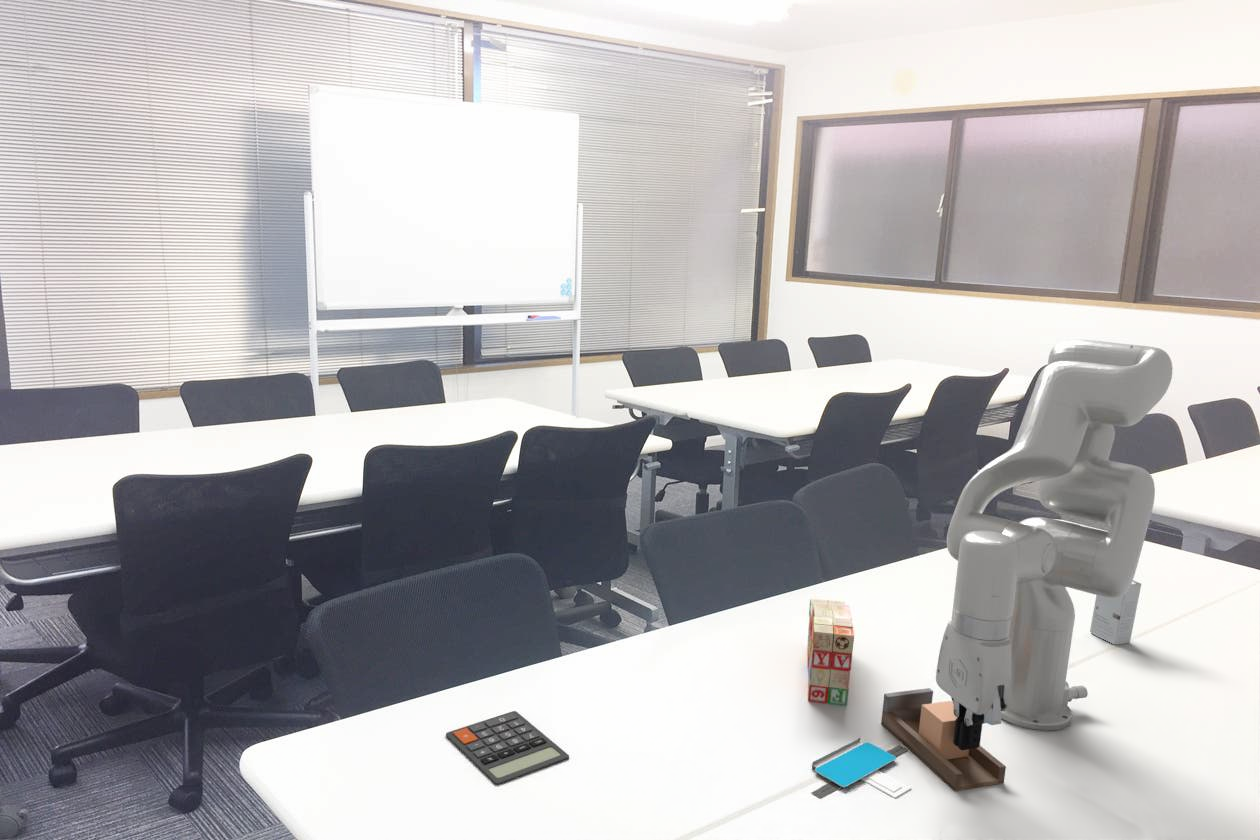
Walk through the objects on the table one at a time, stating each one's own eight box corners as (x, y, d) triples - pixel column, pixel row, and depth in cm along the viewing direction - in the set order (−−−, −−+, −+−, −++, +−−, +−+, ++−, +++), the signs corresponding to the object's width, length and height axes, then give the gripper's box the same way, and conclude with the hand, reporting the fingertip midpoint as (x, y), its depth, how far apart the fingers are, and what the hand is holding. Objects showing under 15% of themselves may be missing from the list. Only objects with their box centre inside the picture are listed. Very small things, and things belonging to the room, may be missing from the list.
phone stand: (856, 825, 118) (857, 813, 118) (785, 782, 127) (785, 771, 127) (944, 772, 131) (945, 761, 131) (873, 736, 140) (874, 726, 140)
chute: (926, 717, 145) (929, 688, 144) (1003, 782, 128) (1008, 749, 127) (881, 723, 142) (884, 693, 141) (954, 791, 125) (958, 757, 125)
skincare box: (1088, 633, 179) (1097, 573, 177) (1105, 630, 181) (1114, 571, 179) (1115, 646, 174) (1125, 585, 171) (1133, 643, 176) (1142, 582, 173)
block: (946, 738, 137) (951, 700, 136) (968, 756, 133) (973, 717, 132) (917, 742, 136) (921, 704, 135) (938, 760, 131) (942, 722, 130)
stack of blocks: (806, 645, 169) (811, 581, 167) (841, 649, 168) (847, 585, 166) (807, 702, 148) (813, 630, 146) (847, 707, 147) (854, 634, 145)
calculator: (515, 709, 141) (570, 755, 130) (515, 714, 141) (570, 761, 130) (445, 731, 134) (496, 782, 123) (445, 737, 134) (496, 788, 123)
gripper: (923, 604, 131) (911, 722, 135) (995, 649, 118) (979, 780, 121) (968, 599, 134) (954, 716, 137) (1043, 643, 120) (1026, 772, 124)
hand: (966, 745), depth 129 cm, fingers closed
